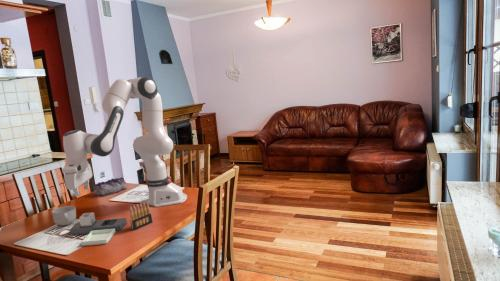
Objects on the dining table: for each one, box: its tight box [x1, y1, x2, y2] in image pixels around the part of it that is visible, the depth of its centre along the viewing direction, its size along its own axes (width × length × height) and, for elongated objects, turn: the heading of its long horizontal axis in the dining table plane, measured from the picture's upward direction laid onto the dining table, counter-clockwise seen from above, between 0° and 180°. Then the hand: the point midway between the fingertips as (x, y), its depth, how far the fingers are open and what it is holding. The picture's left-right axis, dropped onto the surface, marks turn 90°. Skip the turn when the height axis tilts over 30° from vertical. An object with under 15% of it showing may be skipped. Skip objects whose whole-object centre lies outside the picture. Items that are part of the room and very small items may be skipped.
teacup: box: [51, 205, 77, 227], centre depth 173 cm, size 14×11×8 cm
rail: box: [69, 217, 128, 236], centre depth 165 cm, size 24×8×3 cm, turn 93°
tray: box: [80, 229, 116, 247], centre depth 154 cm, size 11×11×2 cm
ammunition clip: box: [129, 200, 153, 231], centre depth 164 cm, size 11×2×12 cm, turn 139°
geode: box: [92, 176, 127, 197], centre depth 220 cm, size 20×12×10 cm, turn 135°
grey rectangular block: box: [78, 212, 97, 228], centre depth 164 cm, size 5×5×9 cm
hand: (82, 192), depth 161 cm, fingers open, 8 cm apart
